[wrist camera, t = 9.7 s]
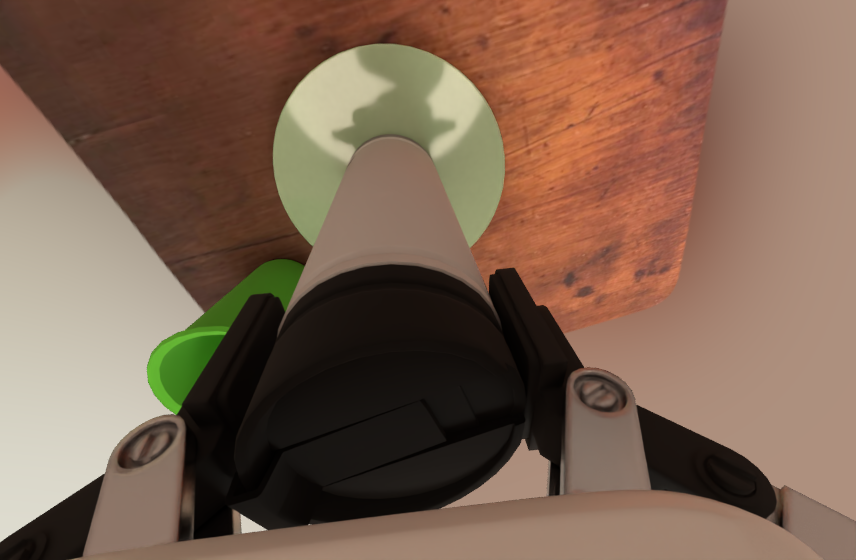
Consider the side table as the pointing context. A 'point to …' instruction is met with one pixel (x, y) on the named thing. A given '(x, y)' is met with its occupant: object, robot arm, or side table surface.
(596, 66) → the side table surface
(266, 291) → the cup
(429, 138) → the trivet
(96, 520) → the robot arm
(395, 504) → the travel mug
